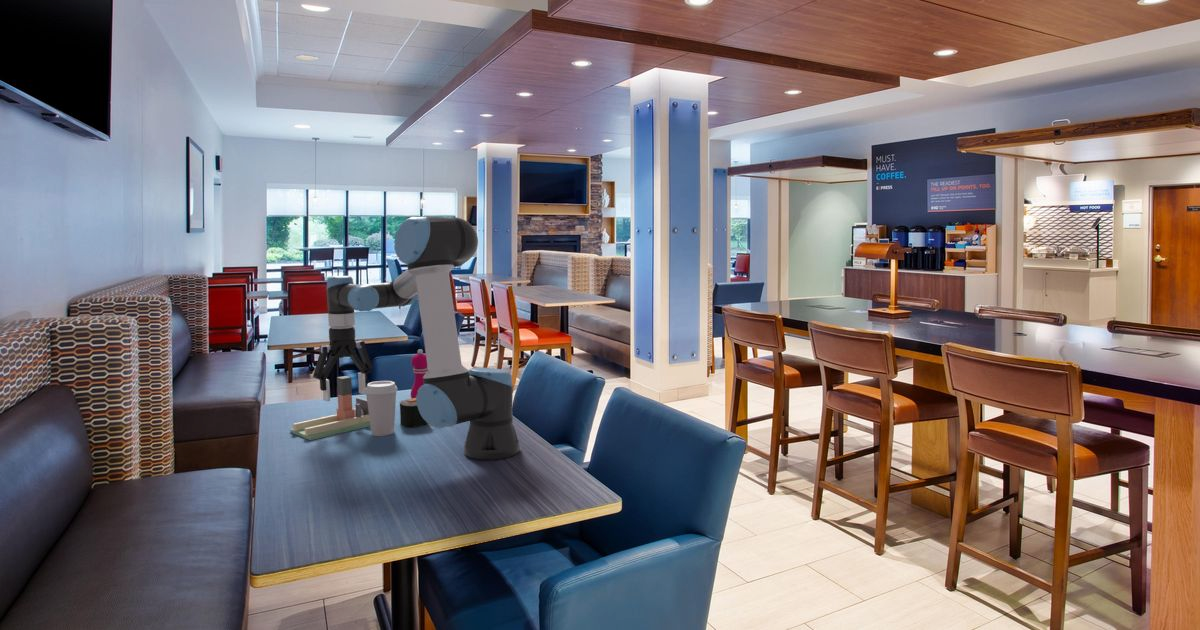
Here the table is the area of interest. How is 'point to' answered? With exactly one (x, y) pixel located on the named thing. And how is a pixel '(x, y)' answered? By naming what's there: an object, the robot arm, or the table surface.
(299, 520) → the table surface
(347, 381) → the black and red block
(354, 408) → the ball
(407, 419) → the sushi
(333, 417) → the pitch
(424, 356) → the pepper mill
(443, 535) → the table surface
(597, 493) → the table surface
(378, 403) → the coffee cup
